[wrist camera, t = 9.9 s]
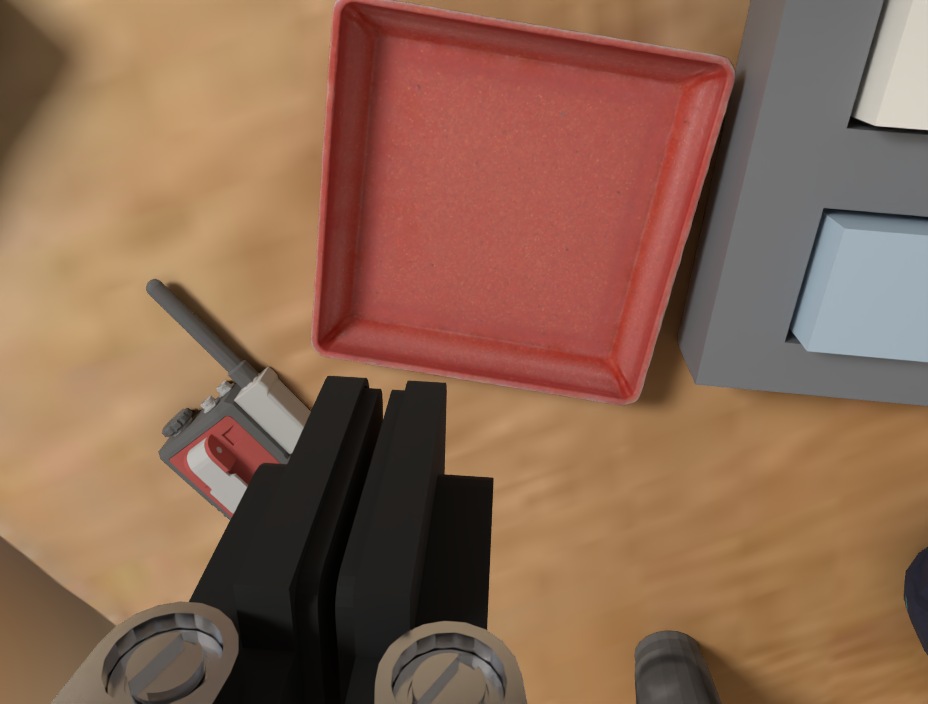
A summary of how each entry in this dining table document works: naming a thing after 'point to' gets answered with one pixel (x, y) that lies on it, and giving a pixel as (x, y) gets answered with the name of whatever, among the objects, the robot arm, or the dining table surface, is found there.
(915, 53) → the white key
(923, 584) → the portable speaker
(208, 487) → the walkie-talkie
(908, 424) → the dining table surface
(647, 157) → the plant saucer
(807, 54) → the console
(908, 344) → the blue key
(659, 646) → the beverage cup
